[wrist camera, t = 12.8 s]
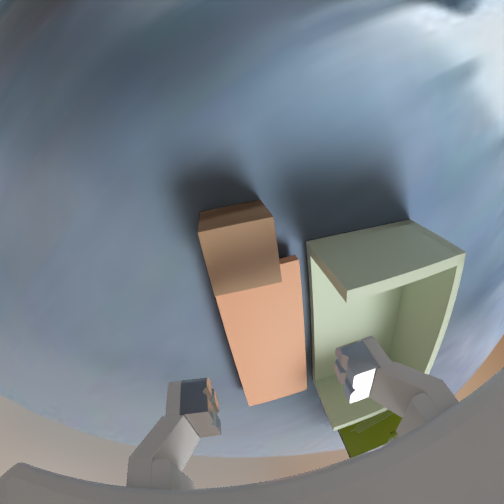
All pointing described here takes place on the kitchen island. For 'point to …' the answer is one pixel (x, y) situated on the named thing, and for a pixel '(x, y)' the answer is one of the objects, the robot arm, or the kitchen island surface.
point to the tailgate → (268, 335)
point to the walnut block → (239, 247)
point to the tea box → (370, 433)
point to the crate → (378, 303)
